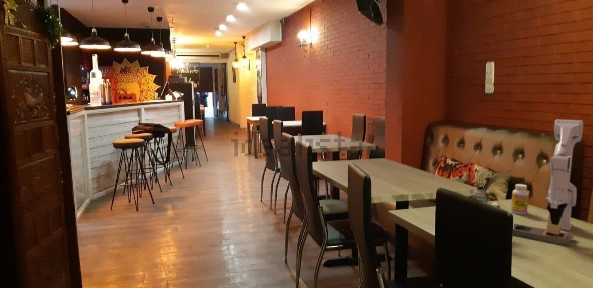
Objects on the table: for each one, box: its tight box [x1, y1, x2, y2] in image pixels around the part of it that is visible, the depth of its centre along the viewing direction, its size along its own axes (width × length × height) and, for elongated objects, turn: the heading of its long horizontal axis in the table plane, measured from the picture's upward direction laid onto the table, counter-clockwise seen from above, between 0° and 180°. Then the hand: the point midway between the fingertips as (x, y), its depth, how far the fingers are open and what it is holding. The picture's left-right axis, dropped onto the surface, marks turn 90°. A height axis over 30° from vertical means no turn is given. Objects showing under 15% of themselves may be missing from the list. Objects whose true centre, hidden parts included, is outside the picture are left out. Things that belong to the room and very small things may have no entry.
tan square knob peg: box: [546, 214, 562, 234], centre depth 170 cm, size 4×4×6 cm
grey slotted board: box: [512, 223, 575, 247], centre depth 174 cm, size 9×22×2 cm, turn 51°
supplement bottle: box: [510, 183, 530, 215], centre depth 205 cm, size 7×7×13 cm
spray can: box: [471, 184, 489, 203], centre depth 172 cm, size 6×6×20 cm
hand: (555, 223), depth 170 cm, fingers closed on tan square knob peg, 4 cm apart
